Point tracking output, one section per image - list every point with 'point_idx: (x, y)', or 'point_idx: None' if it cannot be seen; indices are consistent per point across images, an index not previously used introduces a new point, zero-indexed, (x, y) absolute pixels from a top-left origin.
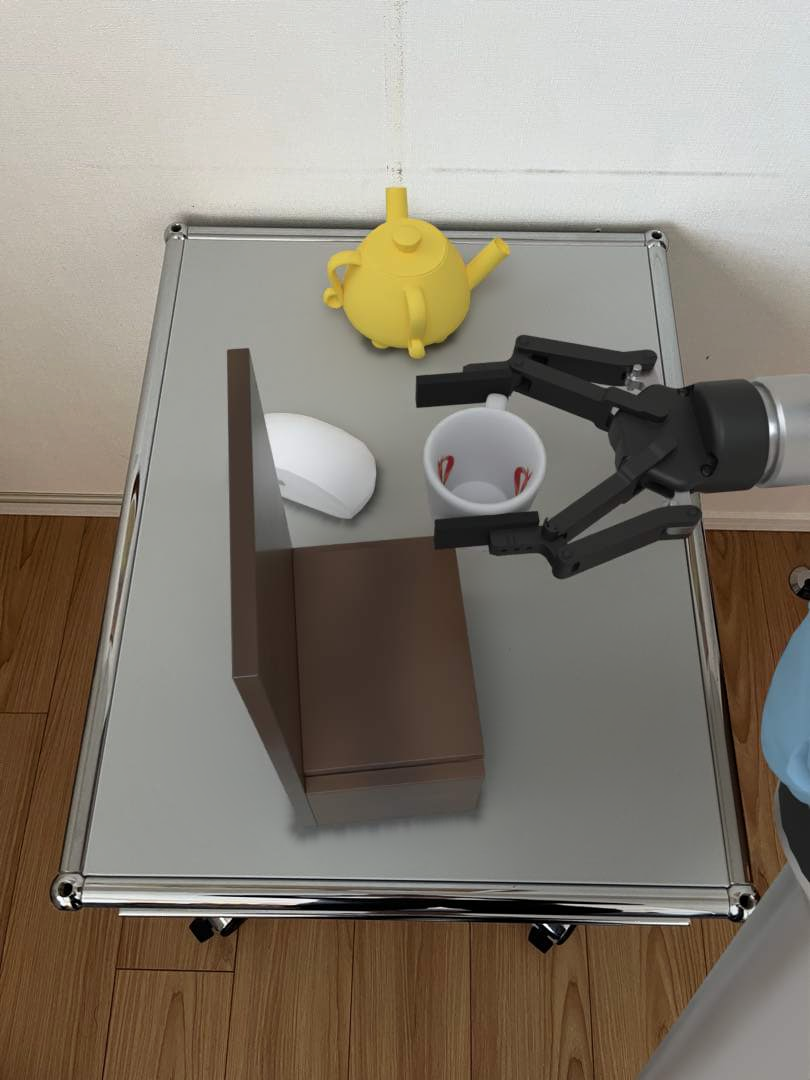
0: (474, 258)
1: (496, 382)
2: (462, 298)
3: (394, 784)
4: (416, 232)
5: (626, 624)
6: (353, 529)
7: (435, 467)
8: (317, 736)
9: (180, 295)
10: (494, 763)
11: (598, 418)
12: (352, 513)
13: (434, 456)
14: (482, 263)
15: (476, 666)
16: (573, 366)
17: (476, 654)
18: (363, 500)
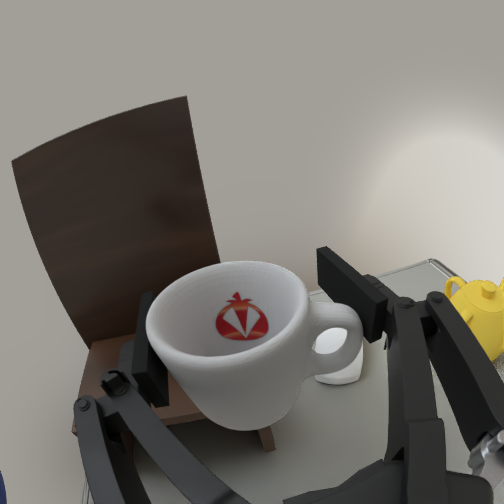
0: None
1: (363, 299)
2: (490, 348)
3: (80, 386)
4: (494, 288)
5: None
6: (310, 385)
7: (217, 282)
8: (106, 344)
9: (403, 271)
10: (151, 486)
11: (391, 447)
12: (317, 377)
13: (228, 275)
14: None
15: (219, 477)
16: (453, 369)
17: (229, 476)
18: (327, 378)
